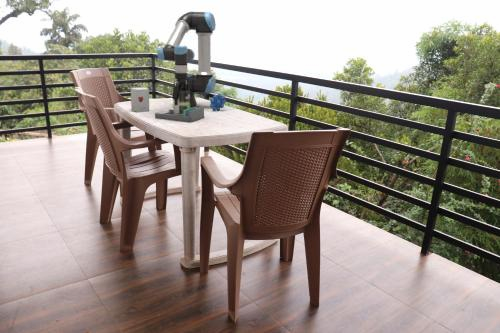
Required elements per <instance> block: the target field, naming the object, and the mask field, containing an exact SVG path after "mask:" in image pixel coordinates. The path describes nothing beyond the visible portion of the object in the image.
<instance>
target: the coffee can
mask: <svg viewBox="0 0 500 333" xmlns="http://www.w3.org/2000/svg"><path fill="white" fill-rule="evenodd" d="M178 93H179V98H178V100H179V111H177V110H175V100H174V99H172V100H173V102H172V103H173V110H174V113H173V114H176V115H183V110H185V109H189V108H190V91H189V90H187V91H183V90H181V91H180V92H178Z"/></svg>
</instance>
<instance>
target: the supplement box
mask: <svg viewBox="0 0 500 333" xmlns="http://www.w3.org/2000/svg"><path fill="white" fill-rule="evenodd" d="M130 99H131V100H130V103H131V105H130V106H131V111H133V112H137V113H142V112H150V88H147V87H130Z"/></svg>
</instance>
